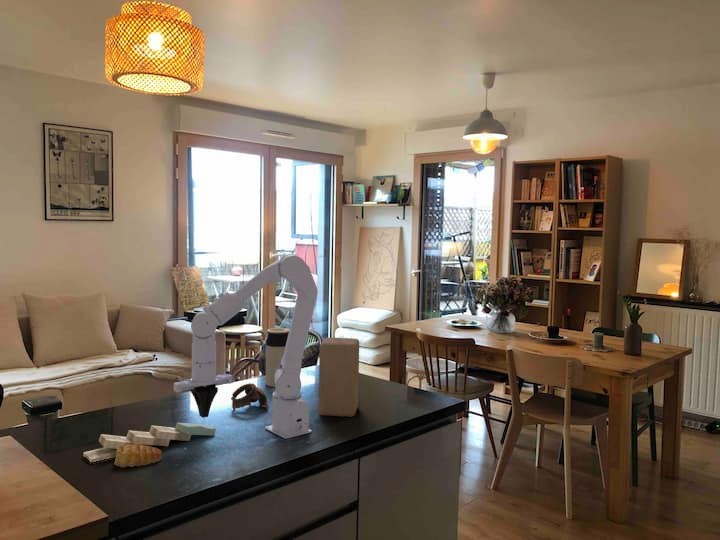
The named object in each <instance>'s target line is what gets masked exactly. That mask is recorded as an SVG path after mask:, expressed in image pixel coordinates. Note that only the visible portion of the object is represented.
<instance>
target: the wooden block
mask: <svg viewBox="0 0 720 540" xmlns="http://www.w3.org/2000/svg"><path fill="white" fill-rule="evenodd" d="M318 363H319V364H318V365H319V366H318V367H319V370H318V413H319V415H321V416H326V417H327V416H328V417H345V416H346V417H347V418H352V417H355V415H356V412H357V409H358V406H359V376H360V339H358V338H351V337H350V338H349V337H326V338H324V339H323V341H321V343H320V345H319V361H318Z"/></svg>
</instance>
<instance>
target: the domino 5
mask: <svg viewBox="0 0 720 540" xmlns="http://www.w3.org/2000/svg"><path fill="white" fill-rule="evenodd" d="M174 428H175V430H177V431H180V432H183V433H185V434H188V435H191V436H192V435H193V436H216V435H215V434H216V430H217V428H215V427H212V426H209V425H206V424H204V423H191V422H189V423H188V422H187V423H185V422H176V424H175V427H174Z"/></svg>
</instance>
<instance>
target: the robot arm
mask: <svg viewBox="0 0 720 540" xmlns="http://www.w3.org/2000/svg"><path fill="white" fill-rule="evenodd" d="M282 277H283V279H284V280H286V281H287V282H288V283H290V285H291V286H292V287H293V288H294V291H295V292H296V294H297V297H296V301H295V305H294V309H293V313H292V317H291V322H290V326H289V329H290V330H289V334H288V338H287V343H286V347H285V351H284V355H283V357H282V359H281V363H280V366H279V367H278V368H277V370H276V371H275V373H274V382H275V387H274V388H275V390H274V391H273V392H272V399H271V400H272V407H271V408H272V410H271V411H272V413H271V414H272V415H271V425H266V426H265V430H266V431H267V430H268V432H271V433H273V434H274V435H278V436H279V437H280V438H283V439H285V440H286V439H291V438H294V437H298V436H301V435H305V434H310V433H312V429H310V407H309V405H308V403H307V402H306V401H305V400H303V397H302V391H301V390H302V381H301V373H302V362H303V355H304V352H305V349H306V348H305V347H306V346H307V345H306V343H307V340H308V336H309V335H308V334H309V331H310V328H311V323H312V320H313V319H312V318H313V315H314V311H315V310H314V309H315V306H316V301H317V297H318V293H319V290H318V287H317V285H316V282H315V279H314V276H313V274H312V270H311V268H310V266H309V265H308V264H307V263H306V262H305V261H304V259H303V258H302V257H300V256H298V255H296V254H293V253H288V254H285V255H283V256H282V257H281V258H280V260H279V259H276V260H275V261H274V262H272V263H270V264H268V265H267V266H265V267H264V268H263V269H262V270H260V271H259V272H258V273H257V274H255V275H254V276H253V277H252V278H251V279H249V280H248V281H246V282H245V283H244V284H243V285H242V286H241V287H240V288H238V289H237V290H236V291H232V290H231V291H229V290H228V291H226V292H224V291H222V292H221V293H219V294H218V295H217V296H218V298H217V299H216V300H214V301H213V302H212V303H210V304H209V305H205V306H204V307H202V311H199V312H198V313H196V314H195V315H194V316H193V319H192V320H191V322H190V323H191V324H190V329H191V332H192V335H191V336H192V337H191V340H192V343H191V378H188V379H185V380H182V381H177V382H176V381H175V382H174V383H173V391H174V392H175V393H181V392H183V391H189V390H190V392H191V395H192V396H193V398H194V400H195V403H196V406H197V409H198V414H199V417H201V418H203V419H204V418H208V417H209V414H210V409H211V407H212V404H213V402H214V399H215V397H216V395H217V394H218V391H219V388H218V387H217V386H218V385H223V384H228V385H229V384H233V379H234V377H233V375H231V374H230V373H228V374H227V373H226V374H217V342H216V330H217V327H218V326H220V327H221V326H223V325H224V324H225V323H227V322H228V321H229V320H231V319H232V318H234V317H235V316H236V315H237V314H238V313H240V312H242V311H243V308H244V302H245V301H247V300H248V299H249V298H251V297H252V296H255V294H256V293H257V292H259V291H260V290H262V289H264V288H265V287H266V286H267V285H268V284H271V283H279V282H280V283H281V282H282Z"/></svg>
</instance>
